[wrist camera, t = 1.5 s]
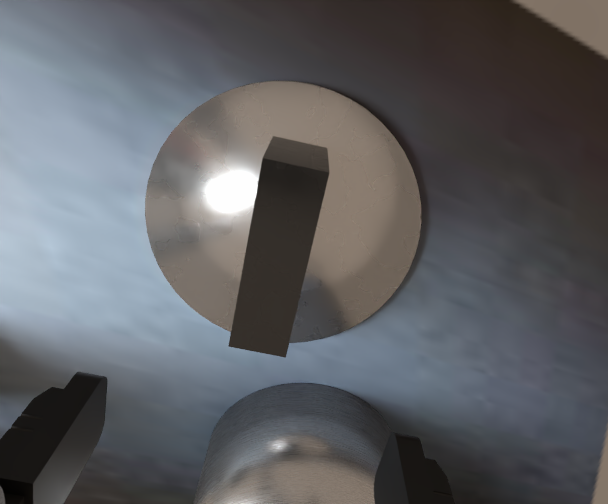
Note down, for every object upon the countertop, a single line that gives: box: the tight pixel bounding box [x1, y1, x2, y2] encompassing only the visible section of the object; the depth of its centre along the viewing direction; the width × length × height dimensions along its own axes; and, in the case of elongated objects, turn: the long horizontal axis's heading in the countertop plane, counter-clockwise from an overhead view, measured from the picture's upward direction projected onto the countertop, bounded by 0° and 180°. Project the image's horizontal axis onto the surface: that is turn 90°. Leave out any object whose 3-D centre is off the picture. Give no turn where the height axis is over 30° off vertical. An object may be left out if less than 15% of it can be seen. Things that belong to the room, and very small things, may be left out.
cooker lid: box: [145, 81, 421, 357], centre depth 26 cm, size 16×16×6 cm
